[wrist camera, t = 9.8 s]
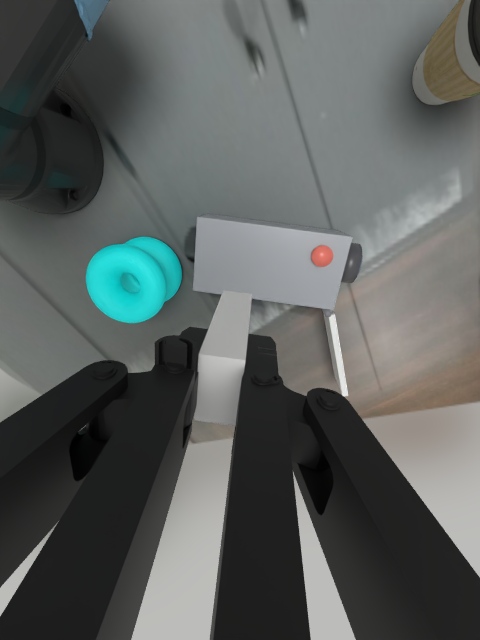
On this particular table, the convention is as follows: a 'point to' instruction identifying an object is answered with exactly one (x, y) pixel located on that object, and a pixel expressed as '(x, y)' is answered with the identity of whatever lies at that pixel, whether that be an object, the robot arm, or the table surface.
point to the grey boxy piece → (273, 260)
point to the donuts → (133, 279)
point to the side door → (335, 350)
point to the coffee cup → (451, 58)
